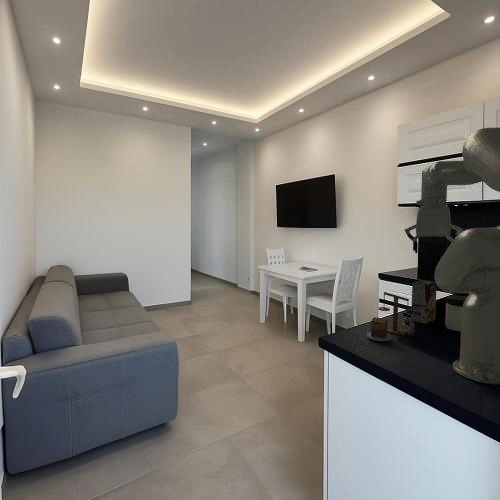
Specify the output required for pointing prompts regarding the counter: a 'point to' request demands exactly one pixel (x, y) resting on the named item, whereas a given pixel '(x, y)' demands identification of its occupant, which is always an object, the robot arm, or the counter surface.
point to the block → (379, 327)
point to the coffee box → (423, 301)
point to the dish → (387, 338)
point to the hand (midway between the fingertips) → (432, 253)
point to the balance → (396, 316)
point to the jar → (454, 312)
